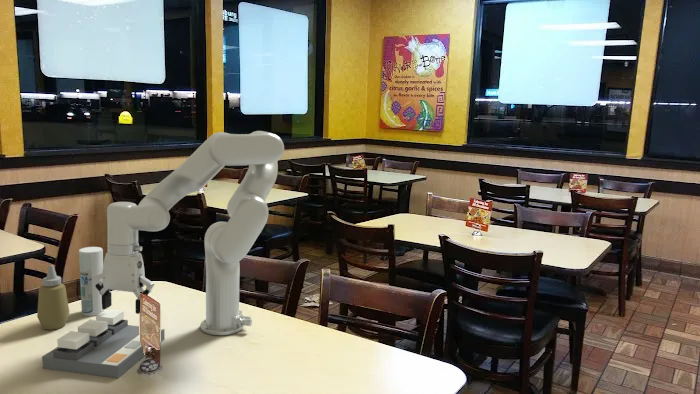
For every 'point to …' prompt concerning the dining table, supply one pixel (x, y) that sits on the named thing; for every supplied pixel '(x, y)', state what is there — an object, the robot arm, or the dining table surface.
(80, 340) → the switch
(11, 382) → the dining table surface
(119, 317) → the switch
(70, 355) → the switch box
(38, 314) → the squeeze bottle
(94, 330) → the switch
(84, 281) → the spray can
